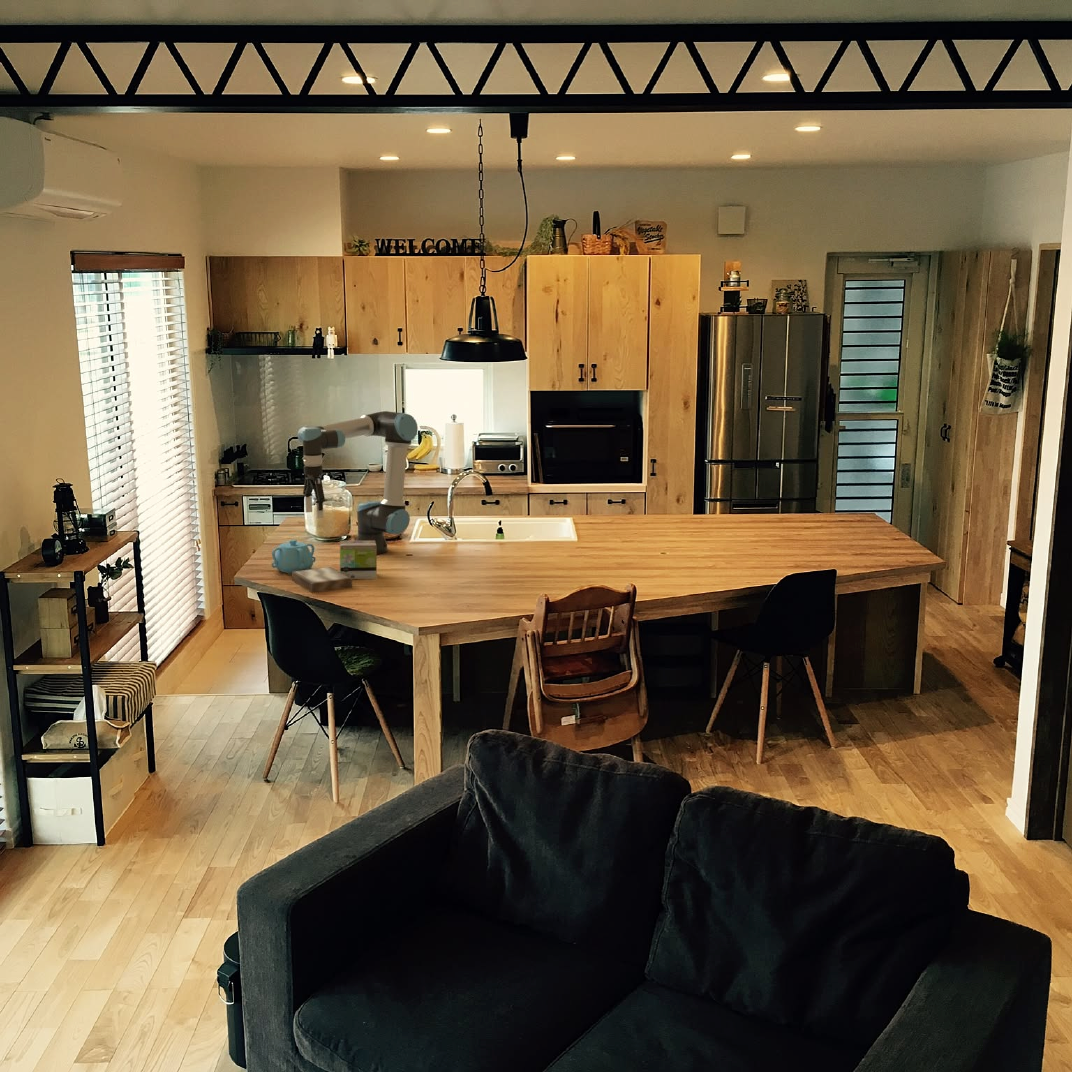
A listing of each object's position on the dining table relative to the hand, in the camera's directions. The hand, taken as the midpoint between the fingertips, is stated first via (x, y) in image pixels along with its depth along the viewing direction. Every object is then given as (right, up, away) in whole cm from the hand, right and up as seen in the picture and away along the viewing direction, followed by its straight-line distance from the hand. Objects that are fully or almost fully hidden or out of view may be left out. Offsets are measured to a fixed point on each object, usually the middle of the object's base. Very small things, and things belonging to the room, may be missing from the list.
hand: (314, 515), depth 478 cm
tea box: (+18, -26, +1) cm, 32 cm away
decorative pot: (-10, -24, +8) cm, 27 cm away
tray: (+5, -28, -12) cm, 31 cm away
